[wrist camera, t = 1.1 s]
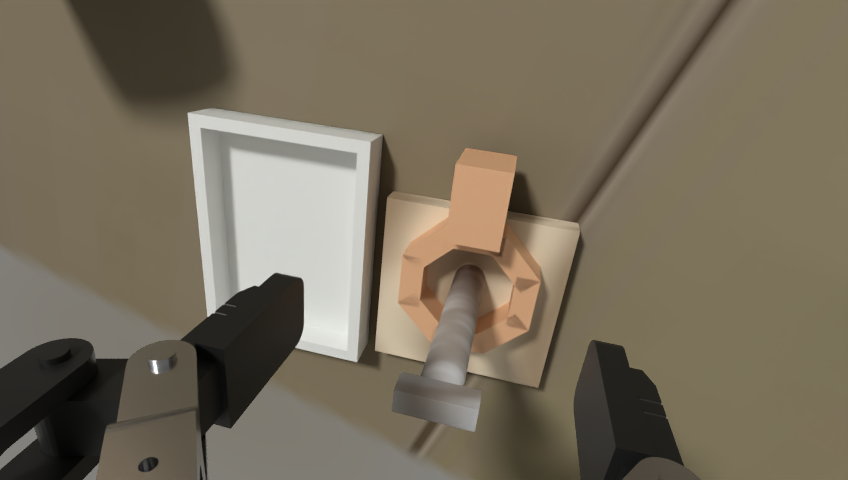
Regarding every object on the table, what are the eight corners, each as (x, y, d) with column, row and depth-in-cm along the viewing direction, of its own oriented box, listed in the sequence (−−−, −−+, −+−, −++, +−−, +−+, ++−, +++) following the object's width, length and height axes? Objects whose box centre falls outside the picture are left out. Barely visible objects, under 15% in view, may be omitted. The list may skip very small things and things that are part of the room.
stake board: (578, 223, 29) (611, 356, 17) (538, 374, 34) (540, 563, 22) (393, 190, 31) (300, 289, 18) (380, 338, 36) (300, 494, 23)
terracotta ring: (564, 163, 26) (570, 182, 23) (521, 344, 31) (520, 383, 28) (421, 140, 28) (404, 155, 24) (402, 318, 33) (385, 352, 29)
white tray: (383, 134, 29) (370, 142, 27) (367, 342, 36) (356, 362, 34) (212, 107, 31) (187, 112, 29) (227, 310, 38) (208, 327, 36)
